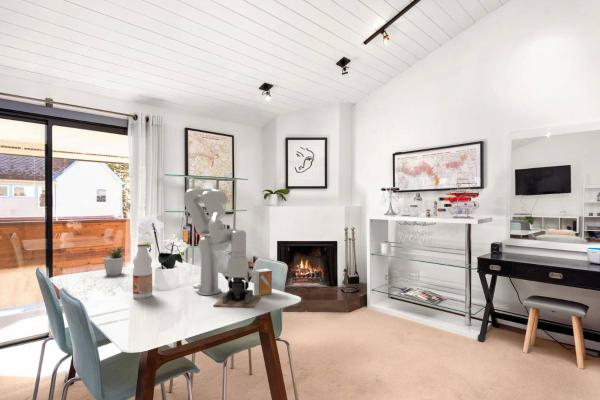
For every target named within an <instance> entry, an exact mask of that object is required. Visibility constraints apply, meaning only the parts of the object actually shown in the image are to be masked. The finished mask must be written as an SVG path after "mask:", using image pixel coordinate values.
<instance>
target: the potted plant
mask: <svg viewBox="0 0 600 400" xmlns="http://www.w3.org/2000/svg"><path fill="white" fill-rule="evenodd" d="M113 248H114V250H113V249H110V248H109V251H106V254H107V256H104V257H103V258H102V260H103V262H104V263H103V264H104V269H105V273H106V274H105V275H106V276H108V277H113V276H119V275H121V274H122V271H123V267H124V266H123V265H124V260H125V256H126V254H123V253H122V252H124V250H125V248H123V246H122V244H121V245H120V246H118V247H117V248H116V247H115V246H113Z"/></svg>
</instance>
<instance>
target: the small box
mask: <svg viewBox="0 0 600 400" xmlns="http://www.w3.org/2000/svg"><path fill="white" fill-rule="evenodd" d="M253 273H254V276H253V294H254V295H261V296H265V295H272V293H273V292H272V291H273V288H272V287H273V281H272V280H273V271H272V269H269V268H260V269H254V271H253Z"/></svg>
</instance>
